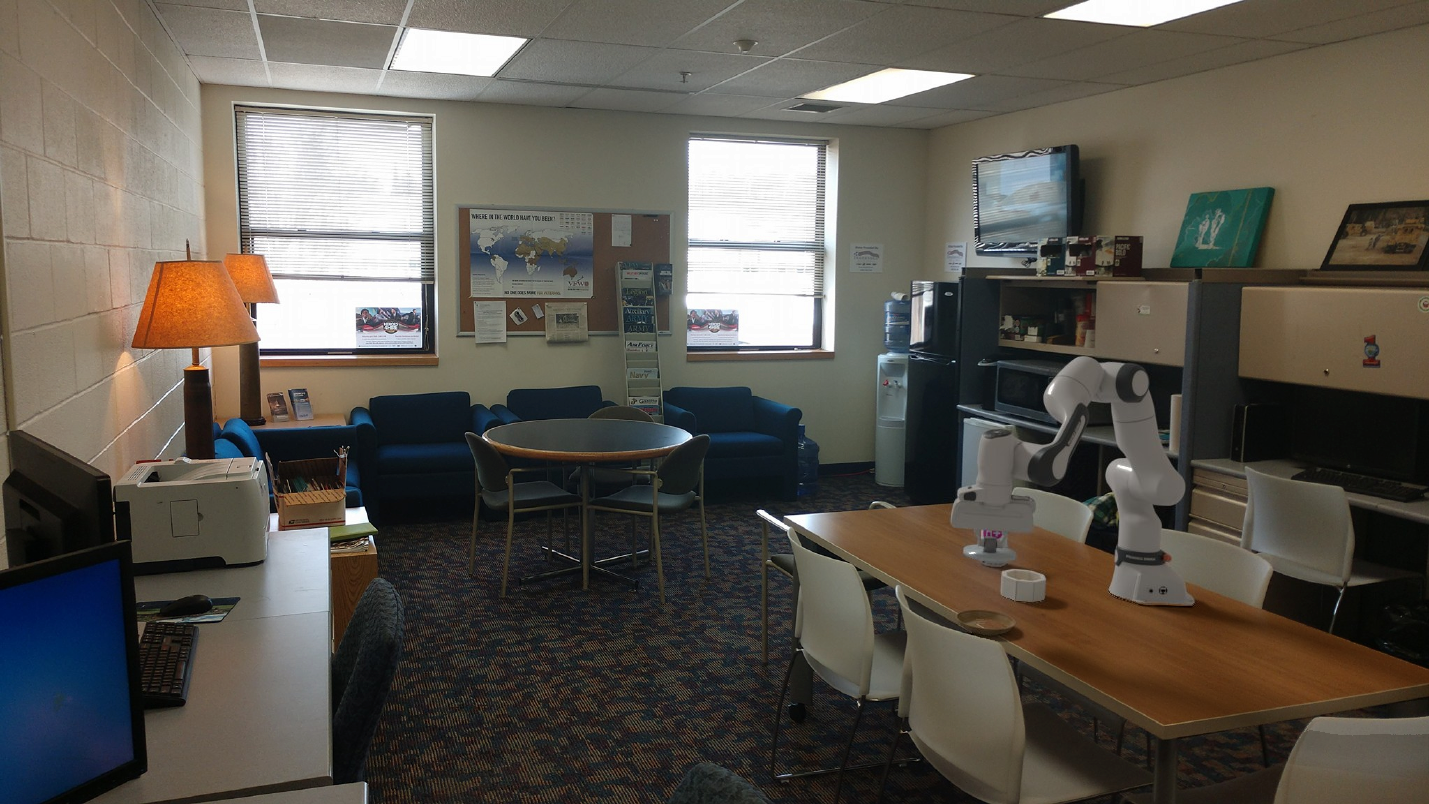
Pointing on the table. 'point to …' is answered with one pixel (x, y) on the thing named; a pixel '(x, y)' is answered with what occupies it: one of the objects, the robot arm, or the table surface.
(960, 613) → the plant saucer
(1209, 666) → the table surface
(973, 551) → the lid
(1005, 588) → the bowl
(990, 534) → the supplement can
